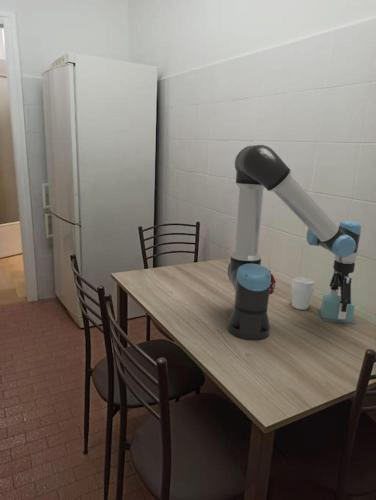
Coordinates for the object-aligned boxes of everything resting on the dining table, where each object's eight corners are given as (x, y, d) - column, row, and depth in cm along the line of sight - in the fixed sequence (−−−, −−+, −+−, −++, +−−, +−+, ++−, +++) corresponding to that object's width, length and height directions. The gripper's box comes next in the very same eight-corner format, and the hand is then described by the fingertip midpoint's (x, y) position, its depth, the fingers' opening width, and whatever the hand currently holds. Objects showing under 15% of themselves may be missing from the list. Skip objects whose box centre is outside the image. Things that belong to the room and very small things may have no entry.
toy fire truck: (276, 294, 168) (279, 273, 166) (250, 294, 167) (252, 272, 164) (272, 288, 175) (274, 268, 172) (247, 288, 174) (248, 268, 171)
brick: (351, 322, 141) (354, 305, 139) (321, 317, 144) (324, 301, 142) (349, 313, 149) (351, 297, 148) (320, 309, 153) (323, 293, 151)
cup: (308, 303, 159) (312, 277, 156) (312, 311, 150) (316, 284, 147) (287, 301, 160) (290, 275, 157) (290, 309, 151) (294, 282, 148)
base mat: (356, 324, 141) (356, 323, 140) (324, 321, 142) (324, 320, 142) (346, 311, 152) (346, 310, 152) (317, 309, 153) (317, 308, 153)
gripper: (366, 271, 129) (356, 326, 134) (345, 253, 153) (337, 300, 158) (344, 269, 129) (335, 324, 135) (326, 252, 154) (319, 299, 159)
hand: (336, 311), depth 146 cm, fingers open, 13 cm apart
